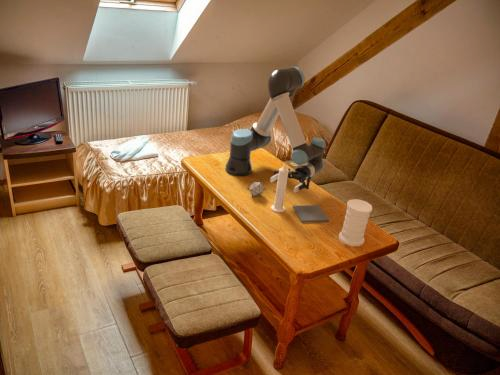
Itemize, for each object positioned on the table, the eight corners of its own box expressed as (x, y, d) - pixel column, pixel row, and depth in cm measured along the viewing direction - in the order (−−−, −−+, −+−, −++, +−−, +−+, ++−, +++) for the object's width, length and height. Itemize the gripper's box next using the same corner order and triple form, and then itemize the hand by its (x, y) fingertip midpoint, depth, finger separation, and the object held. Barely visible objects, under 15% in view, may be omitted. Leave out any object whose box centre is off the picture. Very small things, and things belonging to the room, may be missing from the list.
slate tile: (292, 207, 220) (292, 205, 220) (318, 207, 224) (318, 205, 223) (301, 222, 208) (301, 220, 208) (328, 221, 212) (329, 219, 211)
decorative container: (334, 239, 198) (342, 205, 190) (344, 229, 207) (352, 196, 199) (358, 249, 193) (367, 215, 185) (367, 238, 202) (376, 205, 193)
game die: (257, 203, 228) (263, 195, 219) (243, 195, 227) (248, 187, 219) (264, 190, 232) (270, 182, 223) (250, 182, 232) (255, 174, 223)
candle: (286, 212, 215) (294, 166, 204) (273, 213, 213) (280, 166, 202) (282, 205, 221) (289, 160, 210) (268, 205, 219) (275, 160, 208)
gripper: (324, 186, 222) (303, 201, 206) (283, 170, 234) (260, 182, 218) (327, 173, 218) (306, 187, 203) (285, 157, 230) (262, 169, 215)
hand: (282, 184), depth 210 cm, fingers open, 13 cm apart
